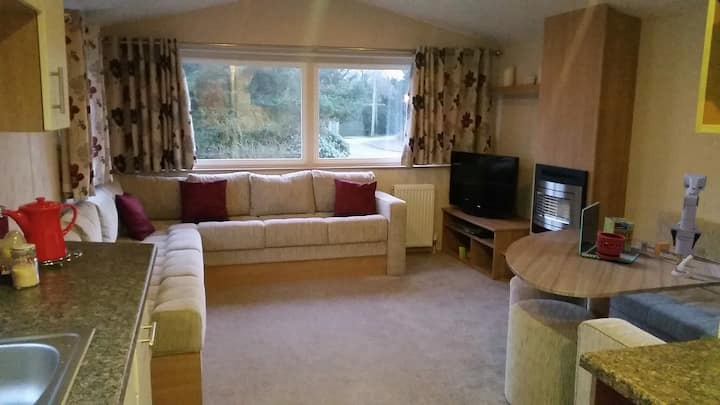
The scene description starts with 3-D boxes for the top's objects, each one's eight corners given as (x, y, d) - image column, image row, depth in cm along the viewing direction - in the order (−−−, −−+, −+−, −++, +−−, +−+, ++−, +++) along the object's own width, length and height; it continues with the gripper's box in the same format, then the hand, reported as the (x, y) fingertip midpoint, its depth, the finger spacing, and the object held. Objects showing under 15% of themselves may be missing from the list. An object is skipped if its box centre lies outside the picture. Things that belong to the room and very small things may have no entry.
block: (663, 252, 279) (665, 242, 278) (668, 254, 277) (670, 243, 276) (653, 253, 276) (655, 242, 275) (658, 254, 274) (660, 243, 273)
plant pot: (611, 262, 264) (614, 239, 262) (589, 255, 276) (592, 232, 274) (628, 260, 270) (631, 237, 268) (606, 252, 282) (609, 231, 280)
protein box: (610, 250, 287) (614, 222, 284) (601, 243, 302) (605, 216, 299) (630, 252, 286) (635, 224, 283) (620, 244, 301) (624, 217, 298)
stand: (645, 251, 288) (647, 241, 287) (684, 263, 268) (685, 253, 267) (638, 252, 286) (639, 242, 285) (676, 264, 266) (677, 254, 265)
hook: (706, 267, 245) (697, 260, 243) (685, 285, 248) (677, 278, 246) (695, 259, 252) (687, 252, 250) (675, 277, 255) (667, 269, 253)
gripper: (670, 217, 257) (665, 245, 258) (705, 222, 249) (700, 251, 250) (670, 217, 263) (666, 244, 264) (705, 222, 255) (700, 249, 256)
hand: (683, 247), depth 258 cm, fingers open, 7 cm apart
